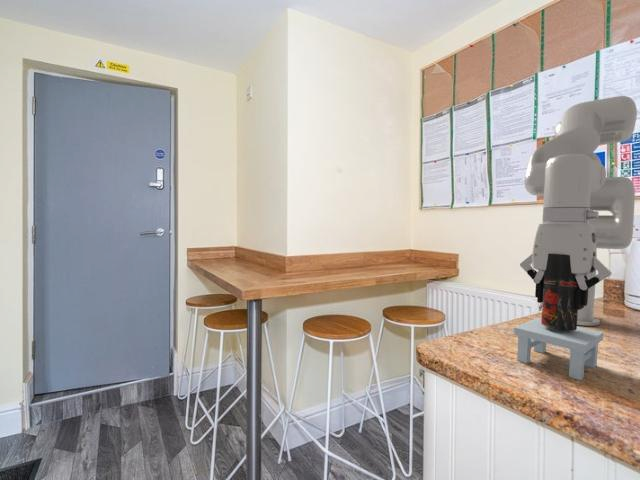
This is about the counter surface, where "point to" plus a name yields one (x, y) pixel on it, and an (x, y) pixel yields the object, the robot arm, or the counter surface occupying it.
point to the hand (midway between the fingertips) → (559, 304)
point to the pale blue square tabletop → (559, 344)
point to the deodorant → (559, 294)
